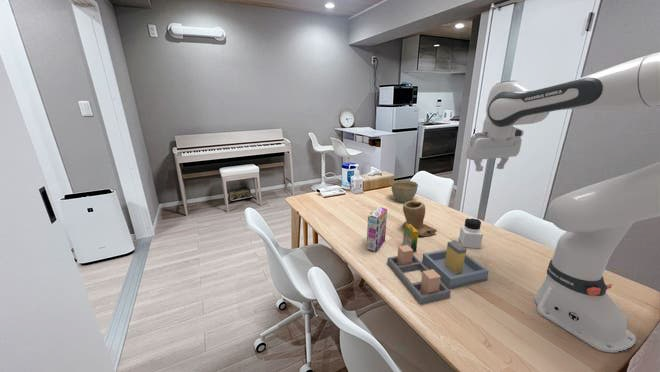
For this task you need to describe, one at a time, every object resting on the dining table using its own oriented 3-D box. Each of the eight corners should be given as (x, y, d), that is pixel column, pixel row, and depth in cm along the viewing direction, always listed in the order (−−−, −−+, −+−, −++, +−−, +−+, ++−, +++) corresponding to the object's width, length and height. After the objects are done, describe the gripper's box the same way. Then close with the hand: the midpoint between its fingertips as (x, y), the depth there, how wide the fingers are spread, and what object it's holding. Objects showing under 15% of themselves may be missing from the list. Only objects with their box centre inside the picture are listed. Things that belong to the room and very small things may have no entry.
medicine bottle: (480, 248, 114) (485, 224, 110) (462, 247, 116) (466, 222, 112) (475, 240, 121) (479, 216, 117) (458, 239, 122) (462, 215, 118)
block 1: (411, 268, 102) (413, 250, 100) (402, 269, 101) (403, 251, 99) (405, 262, 106) (407, 244, 103) (397, 263, 105) (398, 246, 102)
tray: (487, 280, 95) (489, 270, 94) (449, 288, 91) (450, 279, 90) (455, 255, 110) (457, 247, 108) (422, 262, 106) (423, 253, 104)
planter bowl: (400, 193, 179) (401, 178, 175) (421, 200, 167) (423, 184, 163) (385, 199, 169) (385, 183, 166) (406, 207, 157) (407, 190, 154)
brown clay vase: (395, 228, 133) (397, 200, 128) (412, 222, 139) (414, 195, 134) (420, 241, 121) (423, 211, 116) (437, 234, 127) (440, 205, 122)
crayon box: (416, 251, 113) (419, 227, 109) (410, 252, 112) (412, 228, 109) (408, 243, 120) (410, 219, 116) (402, 243, 119) (404, 220, 115)
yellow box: (462, 272, 98) (466, 249, 94) (455, 274, 97) (459, 250, 94) (451, 263, 103) (454, 240, 100) (444, 264, 102) (447, 241, 99)
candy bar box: (376, 253, 113) (378, 218, 107) (366, 249, 115) (367, 215, 110) (385, 241, 122) (387, 208, 116) (375, 238, 124) (377, 206, 119)
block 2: (437, 296, 88) (440, 276, 85) (427, 299, 87) (429, 278, 84) (430, 288, 92) (432, 269, 89) (420, 290, 90) (422, 271, 88)
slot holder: (449, 297, 87) (450, 291, 87) (420, 304, 85) (421, 298, 84) (411, 258, 108) (412, 253, 108) (387, 263, 106) (387, 257, 105)
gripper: (479, 134, 86) (472, 174, 91) (527, 131, 91) (519, 169, 96) (465, 131, 92) (459, 170, 97) (511, 129, 97) (504, 165, 102)
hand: (489, 169), depth 96 cm, fingers open, 8 cm apart
